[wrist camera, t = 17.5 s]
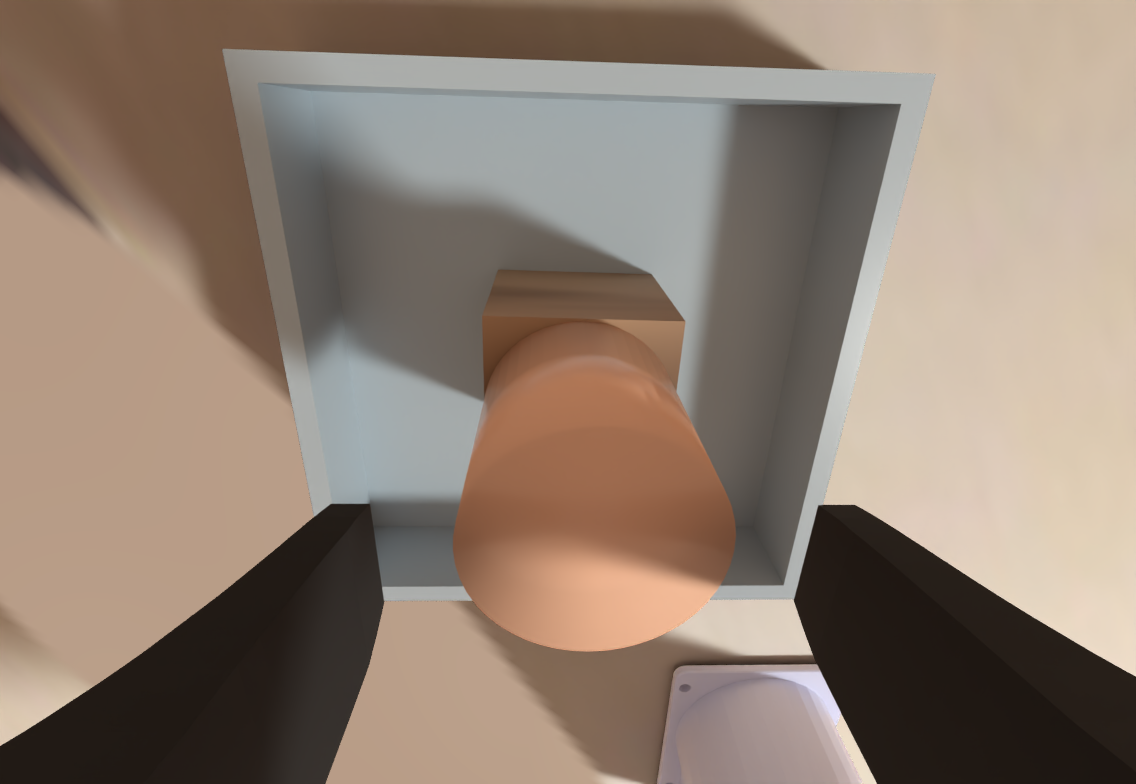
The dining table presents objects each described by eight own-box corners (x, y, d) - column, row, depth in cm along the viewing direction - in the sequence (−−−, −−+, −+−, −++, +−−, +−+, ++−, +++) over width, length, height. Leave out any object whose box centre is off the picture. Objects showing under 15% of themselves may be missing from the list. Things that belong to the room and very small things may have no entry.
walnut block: (638, 410, 19) (663, 490, 15) (499, 408, 19) (486, 487, 15) (651, 274, 17) (685, 321, 13) (498, 269, 17) (481, 315, 13)
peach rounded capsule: (664, 491, 15) (715, 650, 10) (487, 490, 15) (460, 652, 10) (683, 322, 13) (757, 427, 8) (480, 319, 13) (443, 424, 8)
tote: (758, 526, 22) (798, 599, 19) (365, 525, 22) (330, 601, 18) (850, 85, 16) (935, 73, 12) (295, 67, 15) (222, 48, 12)
